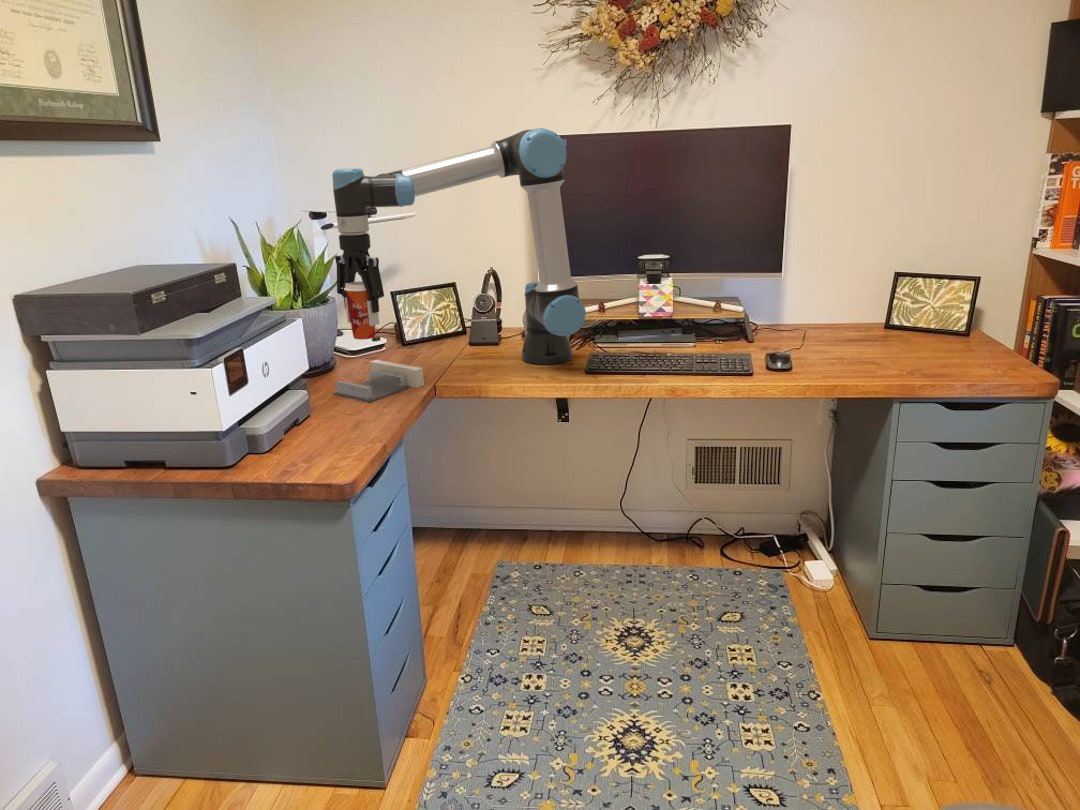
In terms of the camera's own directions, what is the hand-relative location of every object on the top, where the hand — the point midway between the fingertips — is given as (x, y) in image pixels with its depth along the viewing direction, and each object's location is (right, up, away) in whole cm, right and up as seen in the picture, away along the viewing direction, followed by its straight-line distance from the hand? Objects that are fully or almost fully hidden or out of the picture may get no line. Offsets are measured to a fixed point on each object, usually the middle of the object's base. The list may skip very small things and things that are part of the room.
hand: (363, 323), depth 199 cm
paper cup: (0, -4, +1) cm, 4 cm away
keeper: (+1, -18, +6) cm, 19 cm away
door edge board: (+6, -15, +13) cm, 21 cm away
